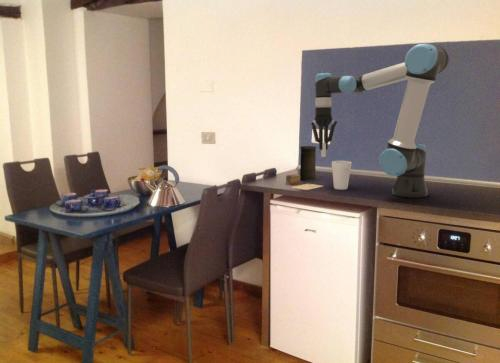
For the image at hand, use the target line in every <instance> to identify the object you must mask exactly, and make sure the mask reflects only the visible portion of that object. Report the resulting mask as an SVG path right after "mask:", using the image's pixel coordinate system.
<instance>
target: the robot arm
mask: <svg viewBox="0 0 500 363" xmlns="http://www.w3.org/2000/svg"><path fill="white" fill-rule="evenodd" d="M449 63H450V56H449V52H448V51H447V50H446V49H445V48H444V47H442V46H440V45H434V44H431V43H419V44H416V45H414V46H413V47H411V48H410V49H409V50H408V51H407V52H406V55H405V57H404V62H401V63H397V64H394V65H391V66H388V67H384V68H382V69H378V70H374V71H371V72H369V73H364V74H362V75H359V76H352V75H342V76H341V75H340V76H332V73H330V72H321V73H316V75H315V81H314V86H315V87H314V88H315V90H314V91H315V97H314V98H315V105H314V106H315V107H314V108H315V110H314V111H315V117H314V120H312V121H310V122H309V124H310V127H311V128H312V132H313V136H314V137H313V138H314V140H315V142H316V143H318V147H319V150H320V157H323V158H326V157H327V153H326V152H327V150H328V149H329V147H328V146H329V144H328V143H330V142H332V141H333V136H334V132H335V127H336V125H337V123H338V122H337V121H336V120H334V119H333V116H332V104H333V103H332V95H334V94H357V95H359V94H364V93H365V92H366V91H370V90H374V89H378V88H381V87H384V86H388V85H392V84H396V83H399V82H403V81H406V80H407V85H406V89H405V91H404V95H403V99H402V102H401V105H400V111H399V115H398V117H397V121H396V126H395V130H394V133H393V136H392V138H391V139H389V140H388V142H387V145H386V149H384V150H383V151H382V152H381V153H380V155H379V157H378V158H379V160H378V162H379V166H380V168H381V170H382V171H383V172H384V173H385V174H387V175H388V176H391V177H396V179H395V180H394V184H393V186H392V189H391V193H392V195H394V196H397V197H403V198H425V197H428V187H427V183H426V180H425V174H426V171H425V170H426V158H427V157H426V156H427V146H426V145H425V144H422V143H415V139H416V137H417V133H418V130H419V126H420V121H421V118H422V116H423V115H422V114H423V110H424V107H425V104H426V100H427V97H428V93H429V90H430V86H431V85H432V84H434V83H436V81H437V76H438V75H440V74H443V72H444V71H446V69H447V68H448V66H449ZM316 124H317V126H316ZM330 124H331V125H330ZM329 126H330V128H329ZM317 127H318V130H317Z"/></svg>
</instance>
